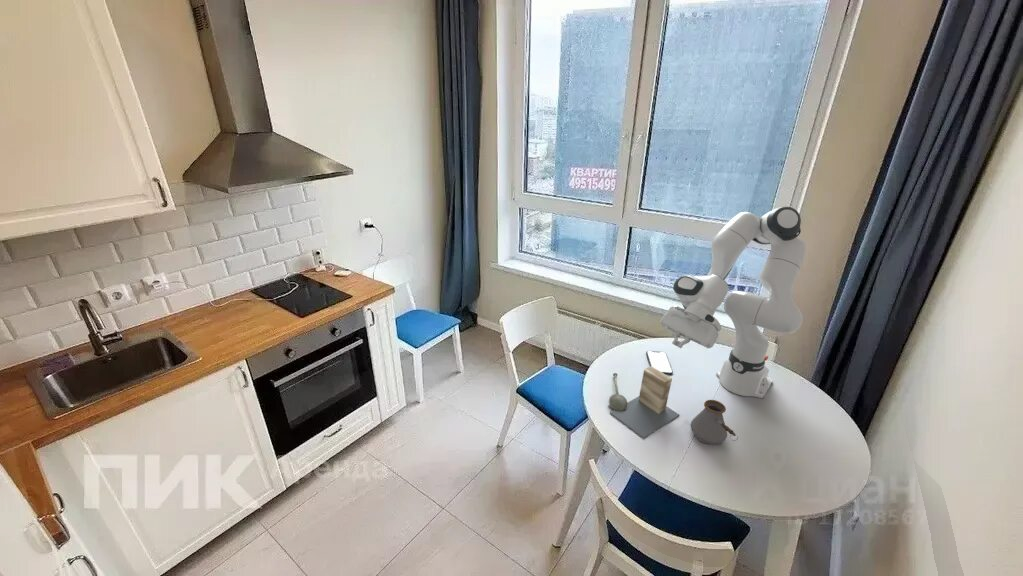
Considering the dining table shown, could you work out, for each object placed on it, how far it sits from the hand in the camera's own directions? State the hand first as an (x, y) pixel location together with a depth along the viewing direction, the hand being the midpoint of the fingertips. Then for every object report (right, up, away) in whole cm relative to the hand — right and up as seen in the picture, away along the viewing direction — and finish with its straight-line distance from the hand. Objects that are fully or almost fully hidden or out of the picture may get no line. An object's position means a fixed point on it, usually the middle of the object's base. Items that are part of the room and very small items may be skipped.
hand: (676, 345), depth 148 cm
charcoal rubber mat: (-11, -25, +1) cm, 28 cm away
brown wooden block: (-7, -23, +5) cm, 24 cm away
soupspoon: (-19, -20, +11) cm, 30 cm away
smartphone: (+5, -13, +31) cm, 34 cm away
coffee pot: (+7, -32, -13) cm, 35 cm away
